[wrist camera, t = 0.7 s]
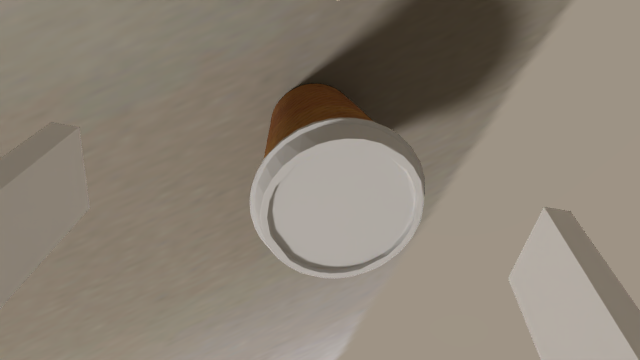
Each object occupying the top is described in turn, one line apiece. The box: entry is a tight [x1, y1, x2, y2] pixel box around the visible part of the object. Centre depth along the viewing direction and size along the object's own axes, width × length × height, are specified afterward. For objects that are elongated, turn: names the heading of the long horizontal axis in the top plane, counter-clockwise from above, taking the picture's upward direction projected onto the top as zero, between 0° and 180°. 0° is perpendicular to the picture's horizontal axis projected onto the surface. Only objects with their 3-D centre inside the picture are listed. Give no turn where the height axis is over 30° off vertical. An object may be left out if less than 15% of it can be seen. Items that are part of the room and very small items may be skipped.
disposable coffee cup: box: [250, 84, 425, 278], centre depth 29 cm, size 10×10×12 cm
